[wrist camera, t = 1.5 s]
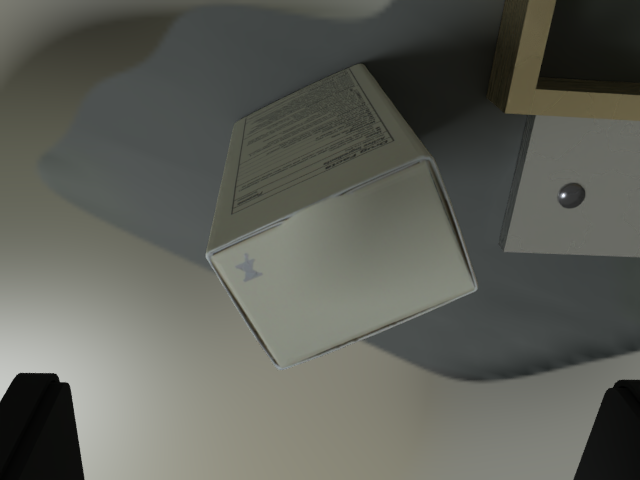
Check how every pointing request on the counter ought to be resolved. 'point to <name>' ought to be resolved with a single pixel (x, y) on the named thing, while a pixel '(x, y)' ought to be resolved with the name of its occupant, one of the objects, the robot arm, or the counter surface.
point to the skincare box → (333, 221)
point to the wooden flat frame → (566, 148)
